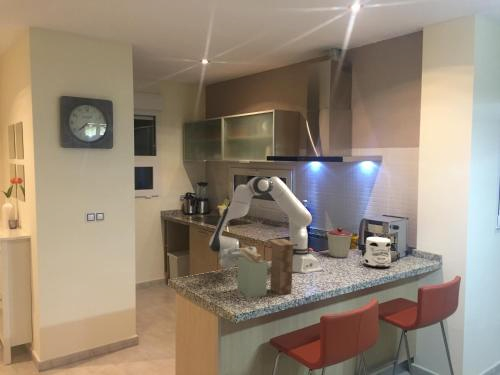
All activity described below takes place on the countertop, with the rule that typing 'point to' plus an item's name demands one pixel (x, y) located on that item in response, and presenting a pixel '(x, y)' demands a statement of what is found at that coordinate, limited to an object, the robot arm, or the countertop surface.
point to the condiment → (354, 241)
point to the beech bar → (251, 255)
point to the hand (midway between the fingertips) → (243, 248)
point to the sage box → (252, 277)
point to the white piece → (377, 252)
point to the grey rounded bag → (394, 255)
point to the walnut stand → (281, 266)
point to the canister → (339, 243)
